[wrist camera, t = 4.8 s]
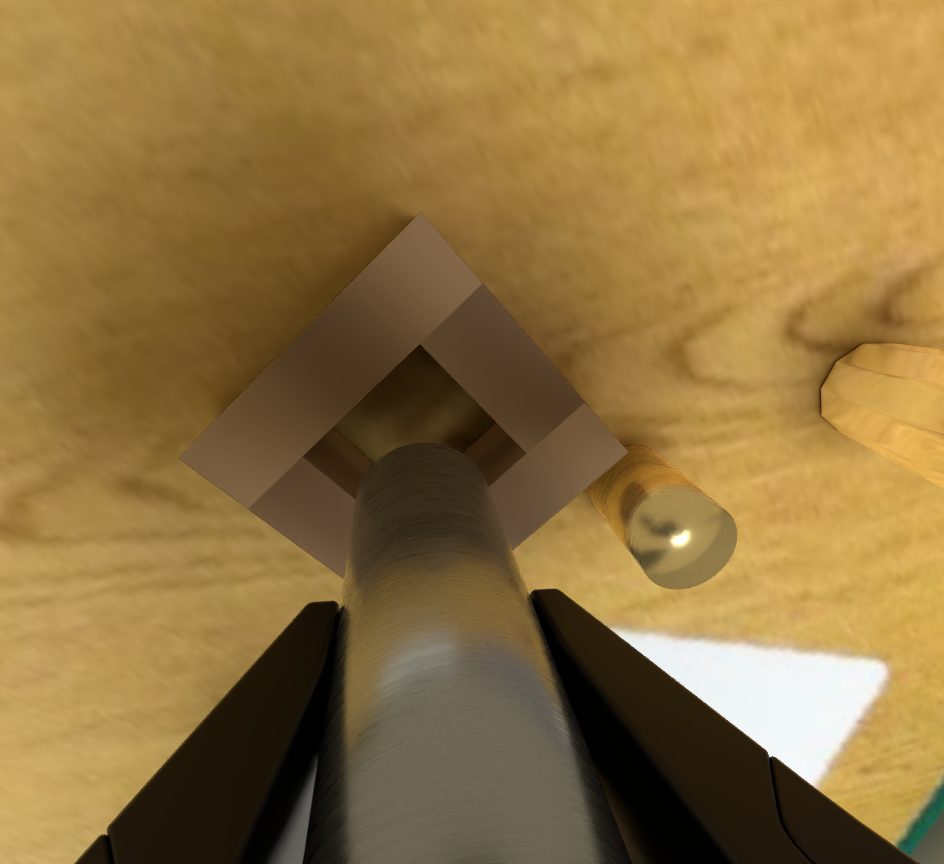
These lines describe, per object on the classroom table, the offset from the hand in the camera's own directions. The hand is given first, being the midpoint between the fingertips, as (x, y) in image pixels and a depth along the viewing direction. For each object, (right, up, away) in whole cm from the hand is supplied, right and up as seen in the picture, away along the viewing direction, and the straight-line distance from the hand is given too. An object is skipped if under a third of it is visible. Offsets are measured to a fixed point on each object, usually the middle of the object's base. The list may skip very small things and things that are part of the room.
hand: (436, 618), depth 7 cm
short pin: (+6, +1, +10) cm, 12 cm away
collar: (-1, +3, +8) cm, 9 cm away
